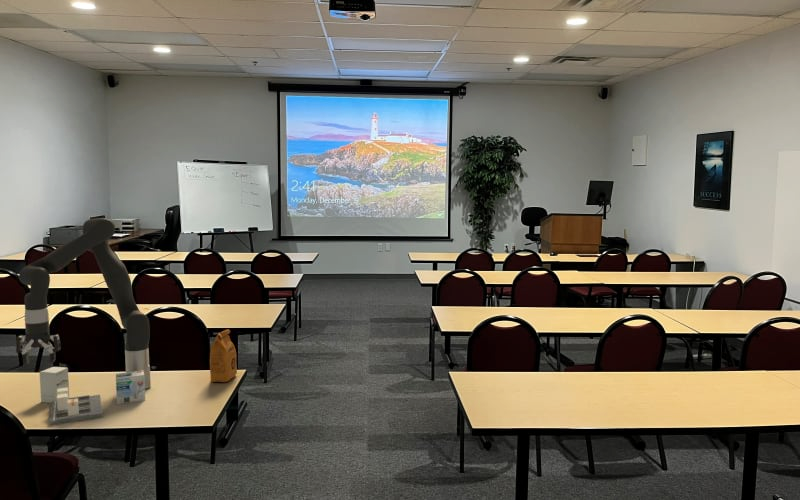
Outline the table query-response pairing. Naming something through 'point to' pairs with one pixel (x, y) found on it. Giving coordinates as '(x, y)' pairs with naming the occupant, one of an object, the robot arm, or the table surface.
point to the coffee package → (222, 358)
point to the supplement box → (53, 383)
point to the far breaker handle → (62, 391)
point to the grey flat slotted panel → (87, 410)
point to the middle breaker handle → (62, 402)
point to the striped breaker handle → (73, 407)
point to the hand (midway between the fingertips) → (39, 363)
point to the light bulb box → (130, 387)
